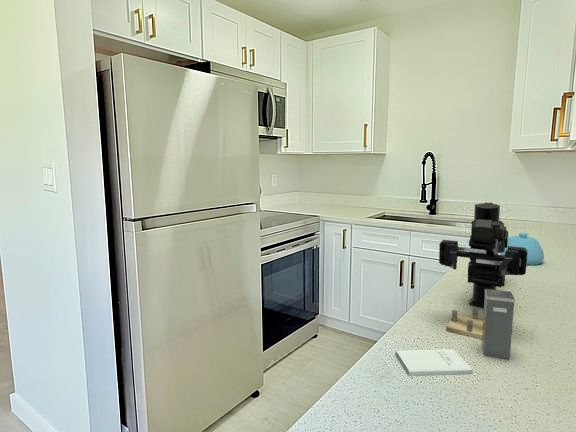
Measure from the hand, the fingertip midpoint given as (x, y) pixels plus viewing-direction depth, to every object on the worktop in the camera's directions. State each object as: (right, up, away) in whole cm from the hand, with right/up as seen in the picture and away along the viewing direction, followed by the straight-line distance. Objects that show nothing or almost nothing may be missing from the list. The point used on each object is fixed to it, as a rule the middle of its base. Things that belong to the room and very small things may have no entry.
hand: (476, 270), depth 83 cm
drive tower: (+2, -17, -4) cm, 18 cm away
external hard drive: (-13, -19, -8) cm, 24 cm away
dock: (+3, -15, +8) cm, 17 cm away
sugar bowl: (+52, -6, +68) cm, 86 cm away
